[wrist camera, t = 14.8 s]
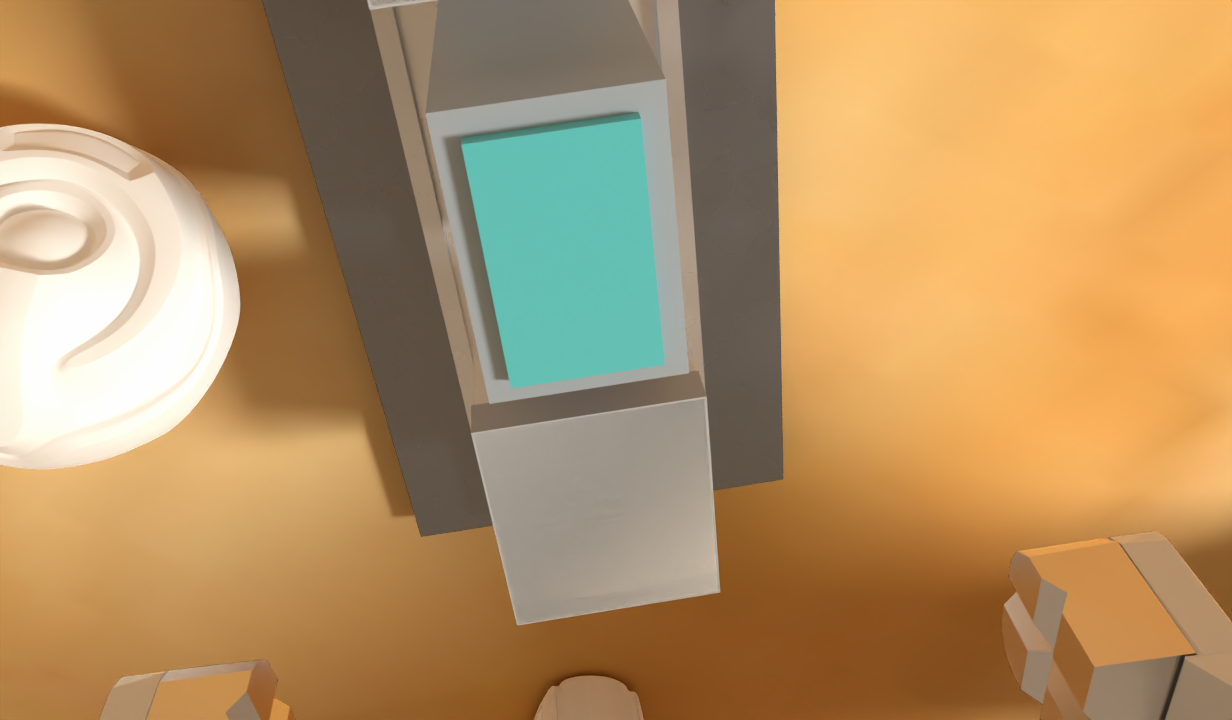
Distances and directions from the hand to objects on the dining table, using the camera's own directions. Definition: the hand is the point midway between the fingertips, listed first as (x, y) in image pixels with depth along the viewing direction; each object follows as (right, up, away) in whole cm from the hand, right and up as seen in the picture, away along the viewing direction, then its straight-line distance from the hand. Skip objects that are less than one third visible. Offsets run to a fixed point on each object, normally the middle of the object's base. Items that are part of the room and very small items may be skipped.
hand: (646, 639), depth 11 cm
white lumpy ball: (-14, +7, +16) cm, 22 cm away
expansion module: (-2, +9, +14) cm, 17 cm away
